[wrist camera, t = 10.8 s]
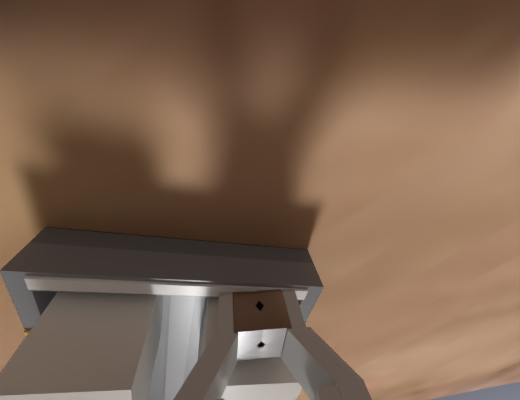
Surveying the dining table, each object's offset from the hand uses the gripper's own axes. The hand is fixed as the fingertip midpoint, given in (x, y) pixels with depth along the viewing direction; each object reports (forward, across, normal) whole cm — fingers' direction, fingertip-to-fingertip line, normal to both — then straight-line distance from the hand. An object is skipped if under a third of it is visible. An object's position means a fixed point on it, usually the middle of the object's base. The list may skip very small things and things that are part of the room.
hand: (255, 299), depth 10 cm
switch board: (+3, +4, +9) cm, 10 cm away
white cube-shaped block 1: (+2, +6, +3) cm, 7 cm away
